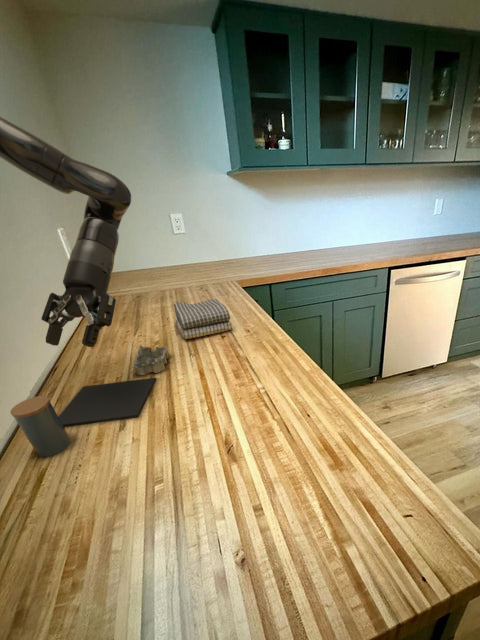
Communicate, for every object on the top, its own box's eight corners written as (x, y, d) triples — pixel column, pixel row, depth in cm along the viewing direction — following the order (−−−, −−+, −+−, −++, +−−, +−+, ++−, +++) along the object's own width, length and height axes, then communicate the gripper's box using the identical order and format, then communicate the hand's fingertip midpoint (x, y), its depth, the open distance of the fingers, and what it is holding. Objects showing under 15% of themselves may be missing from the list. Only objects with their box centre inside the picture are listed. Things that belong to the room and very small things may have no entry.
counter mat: (51, 428, 67) (50, 426, 67) (84, 388, 80) (83, 386, 80) (138, 417, 68) (137, 414, 68) (156, 379, 81) (155, 377, 81)
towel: (184, 343, 99) (178, 318, 95) (175, 324, 113) (169, 301, 109) (234, 331, 104) (230, 306, 100) (219, 314, 118) (215, 292, 114)
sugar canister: (30, 459, 60) (2, 417, 55) (47, 438, 65) (22, 398, 60) (62, 455, 60) (37, 412, 55) (77, 434, 65) (55, 394, 60)
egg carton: (144, 358, 92) (140, 344, 90) (172, 354, 93) (168, 341, 91) (133, 377, 83) (127, 362, 81) (164, 373, 84) (159, 358, 82)
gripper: (45, 259, 66) (21, 337, 62) (105, 257, 63) (83, 339, 59) (77, 279, 73) (57, 350, 70) (133, 278, 70) (115, 352, 66)
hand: (69, 345), depth 64 cm, fingers open, 8 cm apart
